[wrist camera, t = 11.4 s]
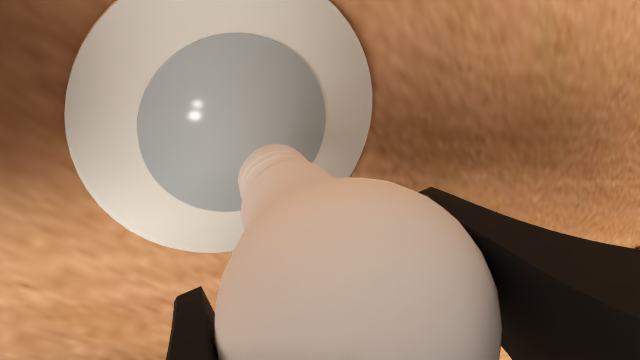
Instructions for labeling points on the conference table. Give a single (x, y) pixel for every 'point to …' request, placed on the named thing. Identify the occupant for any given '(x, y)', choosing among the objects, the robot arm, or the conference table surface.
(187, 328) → the robot arm
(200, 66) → the saucer
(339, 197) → the lightbulb
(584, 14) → the conference table surface
